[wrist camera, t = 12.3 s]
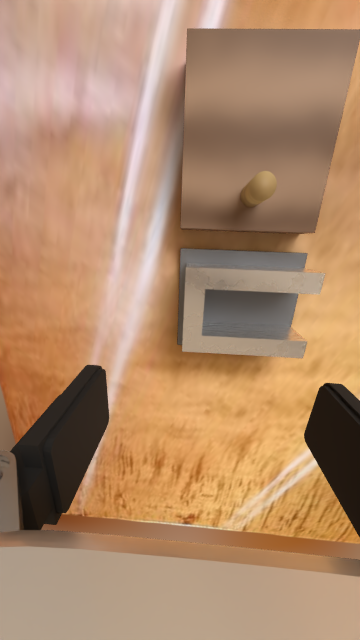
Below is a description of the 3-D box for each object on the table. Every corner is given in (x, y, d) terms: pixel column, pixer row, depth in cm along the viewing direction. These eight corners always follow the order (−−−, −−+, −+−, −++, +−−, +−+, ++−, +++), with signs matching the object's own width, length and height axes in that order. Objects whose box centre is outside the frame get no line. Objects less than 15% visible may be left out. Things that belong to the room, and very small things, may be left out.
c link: (301, 267, 24) (325, 273, 20) (285, 340, 27) (302, 358, 23) (186, 262, 25) (185, 267, 20) (183, 334, 28) (182, 351, 24)
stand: (299, 233, 24) (338, 231, 18) (181, 229, 24) (178, 225, 18) (336, 61, 19) (406, -26, 13) (187, 59, 19) (186, -25, 13)
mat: (283, 348, 28) (285, 350, 28) (177, 342, 29) (177, 344, 28) (304, 253, 24) (307, 253, 24) (180, 248, 25) (180, 248, 24)
